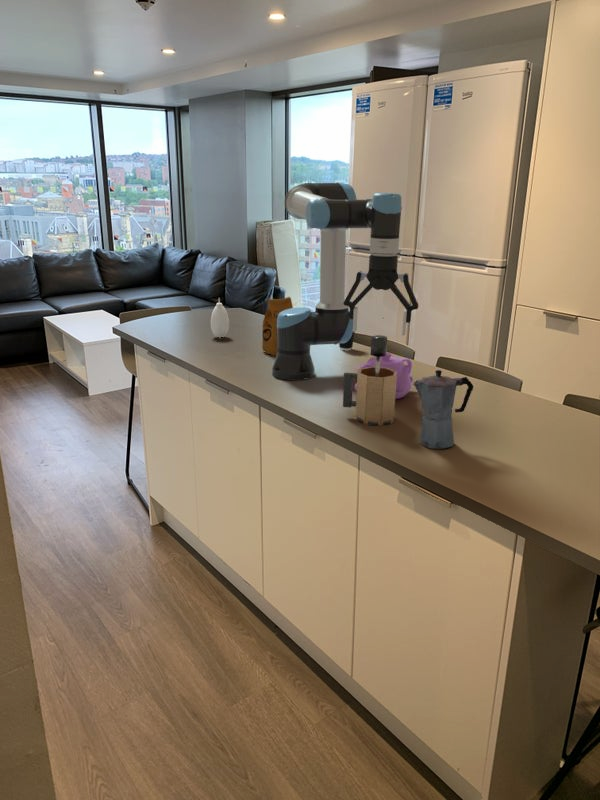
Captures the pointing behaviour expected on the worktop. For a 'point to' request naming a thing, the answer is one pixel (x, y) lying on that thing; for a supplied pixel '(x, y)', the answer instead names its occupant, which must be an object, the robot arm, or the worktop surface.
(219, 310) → the sauce bottle
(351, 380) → the wooden slat mug
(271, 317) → the coffee package
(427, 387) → the moka pot
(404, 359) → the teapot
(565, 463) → the worktop surface
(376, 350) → the plunger
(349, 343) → the dixie cup
